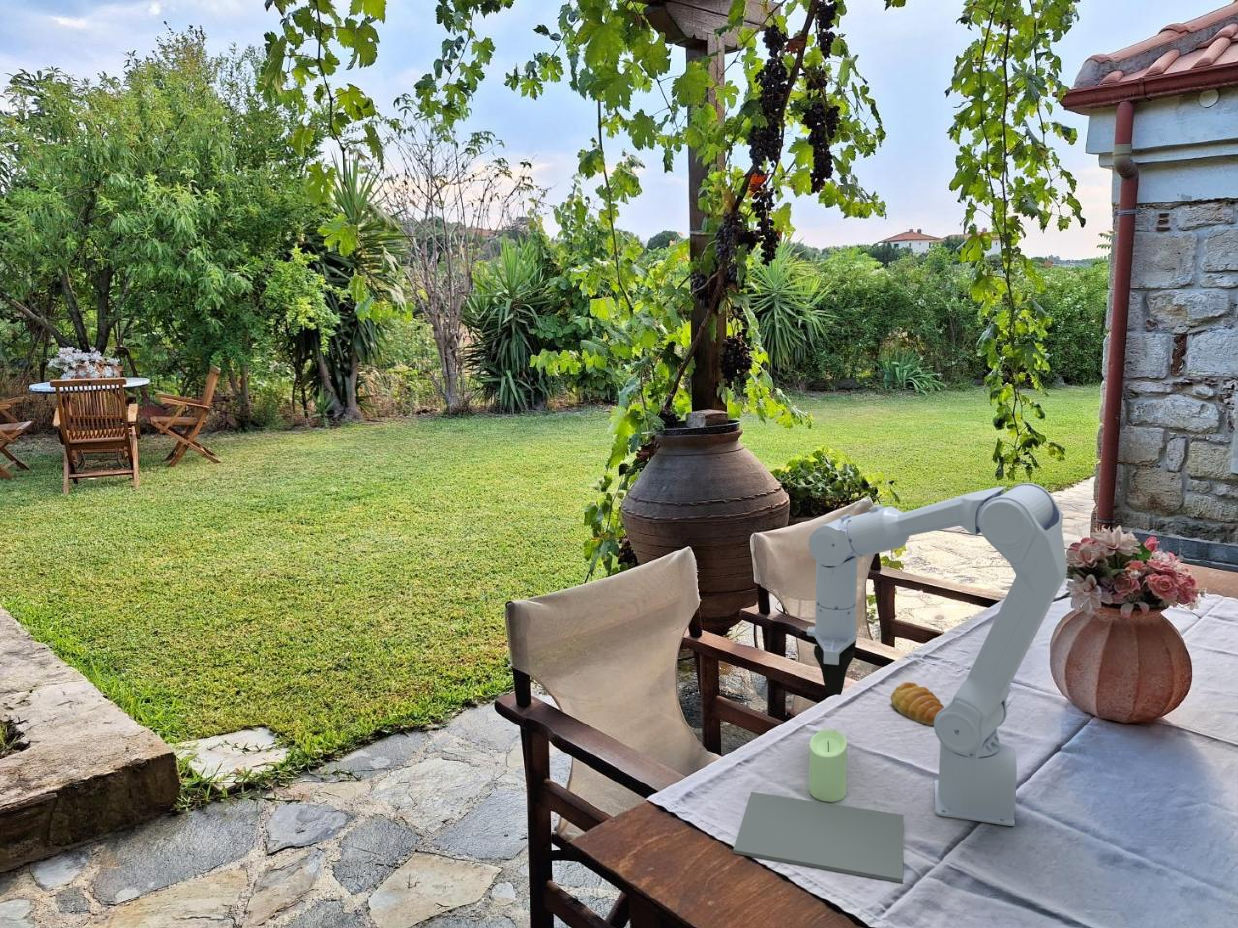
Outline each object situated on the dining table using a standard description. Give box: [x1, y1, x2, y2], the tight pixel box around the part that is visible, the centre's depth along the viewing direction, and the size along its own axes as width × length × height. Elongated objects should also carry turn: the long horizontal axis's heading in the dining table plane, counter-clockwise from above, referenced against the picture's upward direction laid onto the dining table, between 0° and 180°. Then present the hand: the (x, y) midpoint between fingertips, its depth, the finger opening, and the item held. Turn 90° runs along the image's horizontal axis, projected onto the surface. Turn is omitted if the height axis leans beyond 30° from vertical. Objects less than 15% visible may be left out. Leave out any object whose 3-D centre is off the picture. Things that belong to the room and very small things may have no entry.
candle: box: [808, 728, 848, 803], centre depth 118 cm, size 5×5×8 cm
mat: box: [733, 791, 905, 884], centre depth 109 cm, size 20×13×1 cm, turn 72°
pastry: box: [890, 681, 945, 726], centre depth 139 cm, size 9×7×4 cm
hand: (834, 690), depth 126 cm, fingers closed
